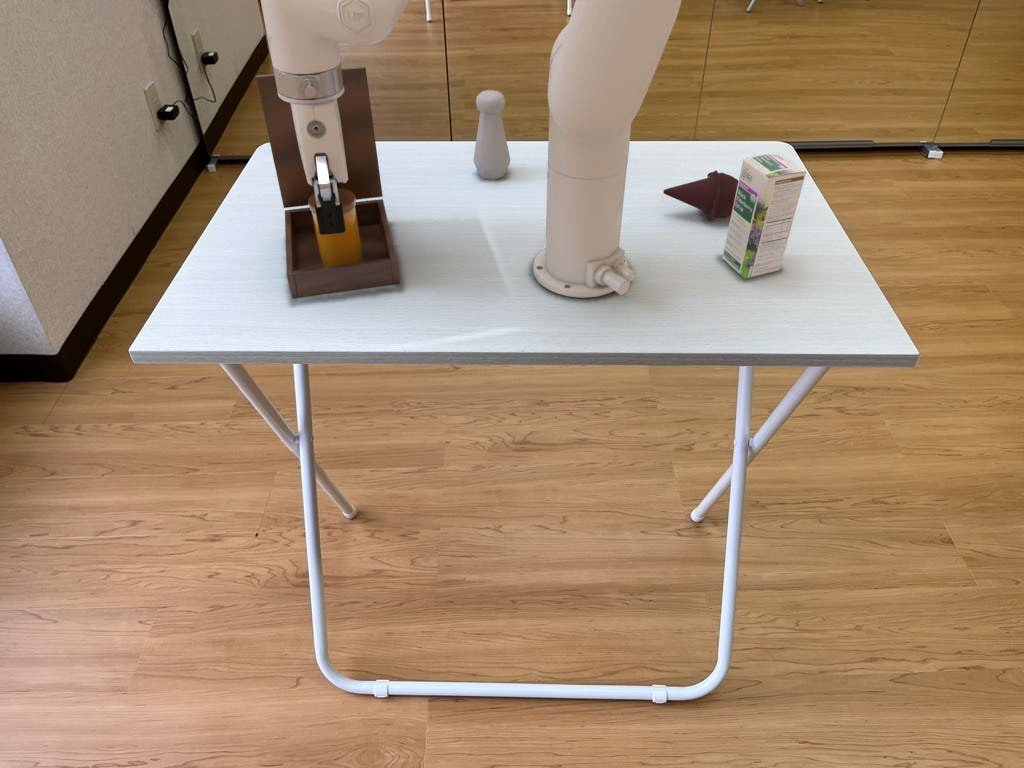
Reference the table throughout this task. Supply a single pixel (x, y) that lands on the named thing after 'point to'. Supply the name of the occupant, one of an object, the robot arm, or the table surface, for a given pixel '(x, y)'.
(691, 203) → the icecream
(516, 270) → the table surface
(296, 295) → the chest
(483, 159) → the salt shaker
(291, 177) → the chest lid
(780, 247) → the syrup box
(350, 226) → the honey pot
